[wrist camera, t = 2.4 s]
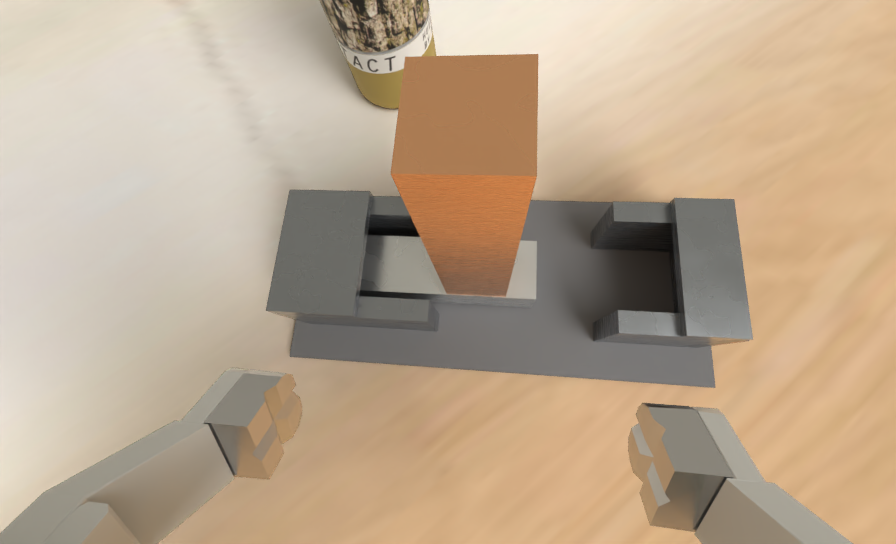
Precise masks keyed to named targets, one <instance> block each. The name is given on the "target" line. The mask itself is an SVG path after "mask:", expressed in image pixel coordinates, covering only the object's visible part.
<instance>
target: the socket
mask: <svg viewBox="0 0 896 544" xmlns="http://www.w3.org/2000/svg"><path fill="white" fill-rule="evenodd" d="M591 249H603V250H630V251H657V252H669V258H670V270H671V282H672V294H673V306H674V313H664V312H645V311H626V310H617V311H615V312H613V313H611V314H609V315H607V316H605V317H603V318H601V319H599V320H597V321H595V322H593V337H594V341H595V342H611V343H627V344H643V345H659V346H675V347H691V348H700V347H708V346H715V345H723V344H730V343H737V342H745V341H749V340H753V336H752V328H751V321H750V314H749V306H748V299H747V291H746V284H745V276H744V269H743V261H742V254H741V247H740V239H739V232H738V224H737V217H736V209H735V202H734V199H698V198H674V199H673V200H672V201H671V202H670V203H654V202H613V203H612V204H611V205H610V207H609V208H608V209H607V211H606V212H605V214H604V215H603V216H602V218H601V219H600V220H599V222H598V223H597V225H596V226H595V227H594V229H593V230H592V231H591Z"/></svg>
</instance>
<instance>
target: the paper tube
mask: <svg viewBox="0 0 896 544" xmlns="http://www.w3.org/2000/svg"><path fill="white" fill-rule="evenodd" d="M320 3H321V5H322V7H323V9H324V12H325V14H326V16H327V18H328V21H329V23H330V25H331V28H332V30H333V32H334V34H335V37H336V39H337V41H338V43H339V46H340V48H341V50H342V52H343V55H344V56H345V58H346V61H347V63H348V65H349V68H350V70H351V72H352V74H353V77H354V79H355V81H356V83H357V86H358V88H359V90H360V91H361V93H362V94H363V96H364V97H365V98H366V99H367V100H369V101H370V102H372V103H373V104H376V105H378V106H381V107H384V108H391V109H396V108H399V102H400V94H401V86H402V78H403V70H404V62H405V57H416V56H436V51H435V44H434V38H433V31H432V22H431V16H430V9H429V3H428V0H320Z"/></svg>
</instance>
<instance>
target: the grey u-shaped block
mask: <svg viewBox="0 0 896 544" xmlns="http://www.w3.org/2000/svg"><path fill="white" fill-rule="evenodd" d="M367 235H378V236H407V237H420V236H419V233H418V231H417V229H416V227H415V225H414V223H413V221H412V218H411V216H410V214H409V212H408V210H407V208H406V206H405V203H404V201H403V199H402V197H394V196H372V194H371V192H370V191H329V190H290V191H289V196H288V201H287V206H286V211H285V216H284V221H283V226H282V231H281V236H280V242H279V247H278V252H277V257H276V262H275V267H274V272H273V277H272V282H271V287H270V292H269V297H268V302H267V307H266V311H269V312H272V313H275V314H279V315H282V316H285V317H289V318H292V319H295V320H299V321H302V322H305V323H309V324H323V325H339V326H355V327H371V328H387V329H403V330H419V331H435V332H438V326H439V313H438V311H437V310H436V308H435V307H434V306H433V304H432V303H431V302H430V300H420V299H401V298H383V297H364V296H359V294H360V287H361V280H362V272H363V265H364V257H365V250H366V243H367Z"/></svg>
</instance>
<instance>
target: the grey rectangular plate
mask: <svg viewBox="0 0 896 544" xmlns="http://www.w3.org/2000/svg"><path fill="white" fill-rule="evenodd" d="M612 203H613V202H575V201H532V200H530V204H529V208H528V212H527V216H526V220H525V224H524V228H523V232H522V236H521V239H520V240H522V241H537V273H536V300H535V302H534V303H533V305H532V306H531V308H528V307H509V306H491V305H472V304H454V303H435V302H431V303H432V304H433V306H434V307H435V308H436V310H437V311H438V313H439V326H438V332H435V331H419V330H403V329H387V328H371V327H355V326H339V325H323V324H309V323H305V322H302V321H299V320H296V323H295V328H294V334H293V340H292V345H291V351H290V357H301V358H314V359H328V360H342V361H356V362H369V363H383V364H397V365H410V366H424V367H438V368H451V369H465V370H479V371H492V372H506V373H520V374H534V375H547V376H561V377H575V378H588V379H602V380H616V381H629V382H643V383H657V384H670V385H684V386H698V387H711V388H715V379H714V370H713V360H712V351H711V346H708V347H700V348H691V347H675V346H659V345H643V344H627V343H611V342H595V341H594V337H593V322H595V321H597V320H599V319H601V318H603V317H605V316H607V315H609V314H611V313H613V312H615V311H617V310H626V311H645V312H664V313H674V306H673V294H672V282H671V270H670V258H669V252H657V251H630V250H603V249H591V231H592V230H593V229H594V227H595V226H596V225H597V223H598V222H599V220H600V219H601V218H602V216H603V215H604V214H605V212H606V211H607V209H608V208H609V207H610V205H611V204H612Z"/></svg>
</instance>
